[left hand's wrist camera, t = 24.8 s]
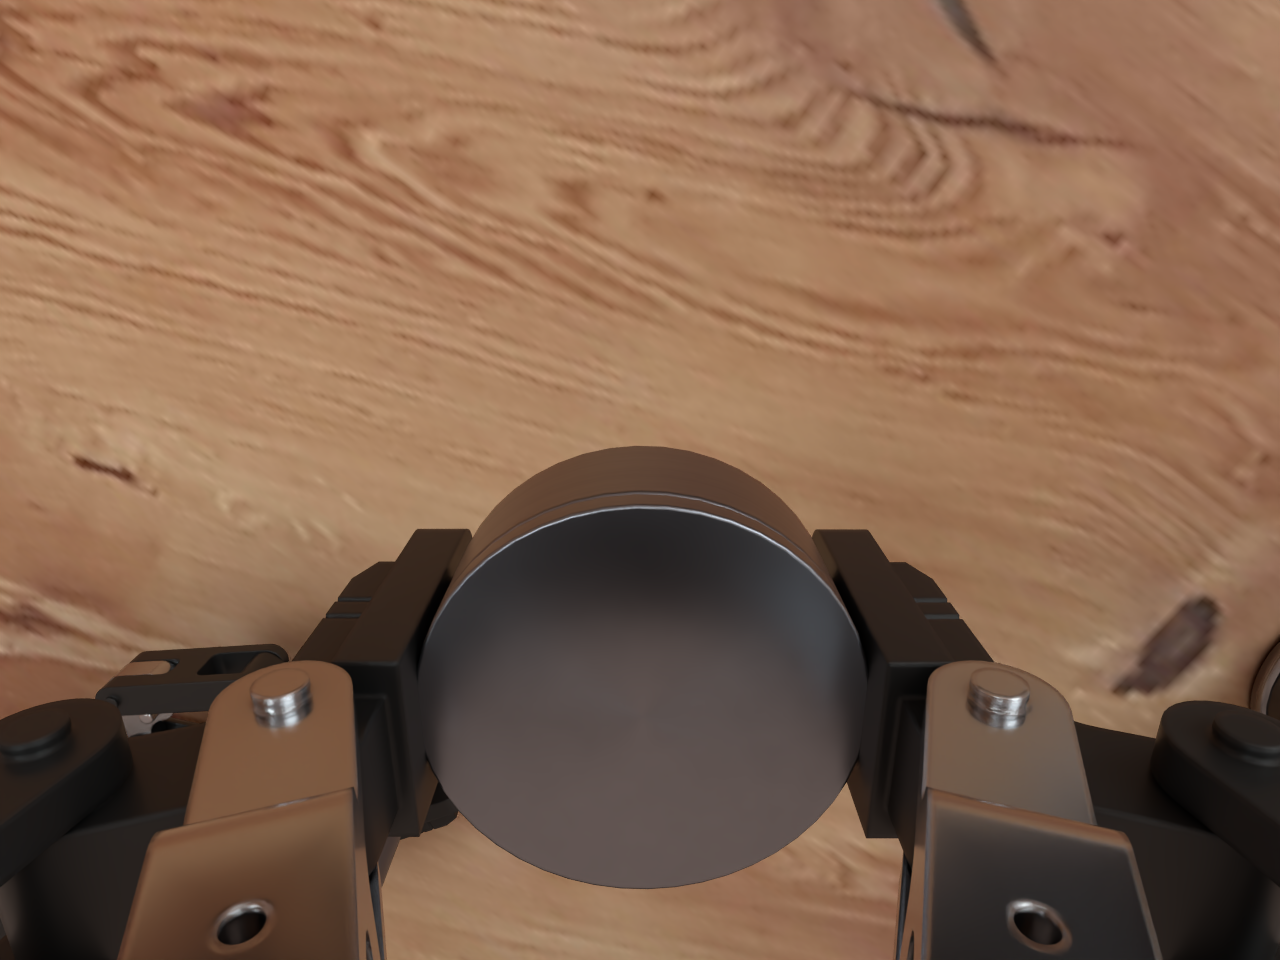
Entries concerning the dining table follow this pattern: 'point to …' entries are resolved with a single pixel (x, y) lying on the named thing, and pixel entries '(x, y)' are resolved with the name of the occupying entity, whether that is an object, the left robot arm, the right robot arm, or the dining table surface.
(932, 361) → the dining table surface
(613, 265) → the dining table surface
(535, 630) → the lid
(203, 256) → the dining table surface
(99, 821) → the left robot arm
